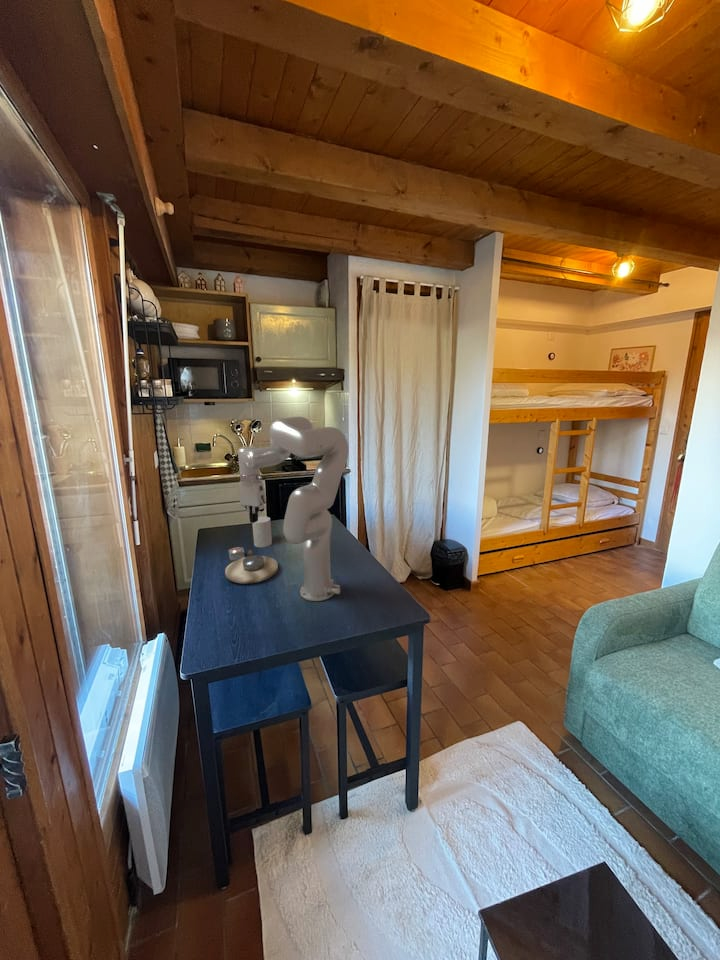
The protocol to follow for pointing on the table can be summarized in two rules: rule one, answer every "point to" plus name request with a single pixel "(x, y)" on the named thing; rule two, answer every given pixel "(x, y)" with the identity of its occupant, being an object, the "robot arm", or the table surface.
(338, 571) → the table surface
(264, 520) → the cup
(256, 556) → the disc
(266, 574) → the turntable
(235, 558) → the dial gauge
